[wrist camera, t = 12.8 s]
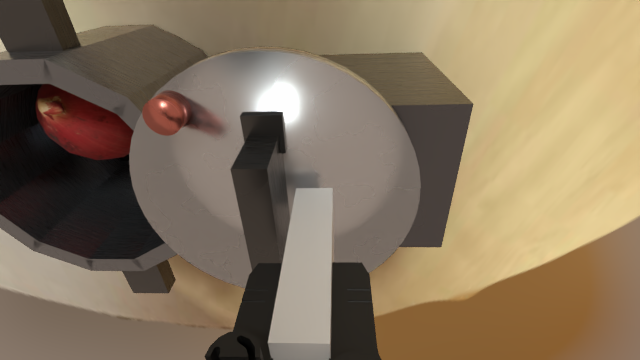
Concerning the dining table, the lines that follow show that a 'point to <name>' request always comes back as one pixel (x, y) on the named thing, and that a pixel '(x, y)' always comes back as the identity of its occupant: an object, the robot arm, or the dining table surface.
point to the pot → (70, 169)
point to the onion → (82, 125)
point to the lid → (271, 160)
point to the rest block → (421, 129)
